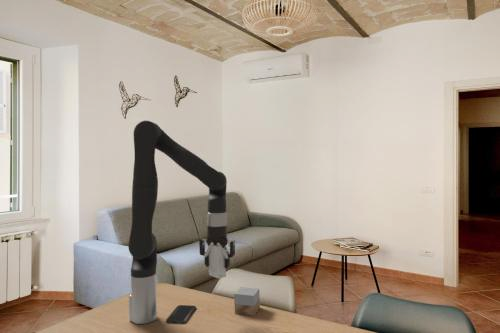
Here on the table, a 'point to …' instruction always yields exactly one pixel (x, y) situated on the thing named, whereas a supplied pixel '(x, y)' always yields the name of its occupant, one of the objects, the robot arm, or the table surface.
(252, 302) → the tower top
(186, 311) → the phone
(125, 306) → the table surface
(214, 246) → the skincare box
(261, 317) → the table surface
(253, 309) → the tower bottom
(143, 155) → the robot arm
